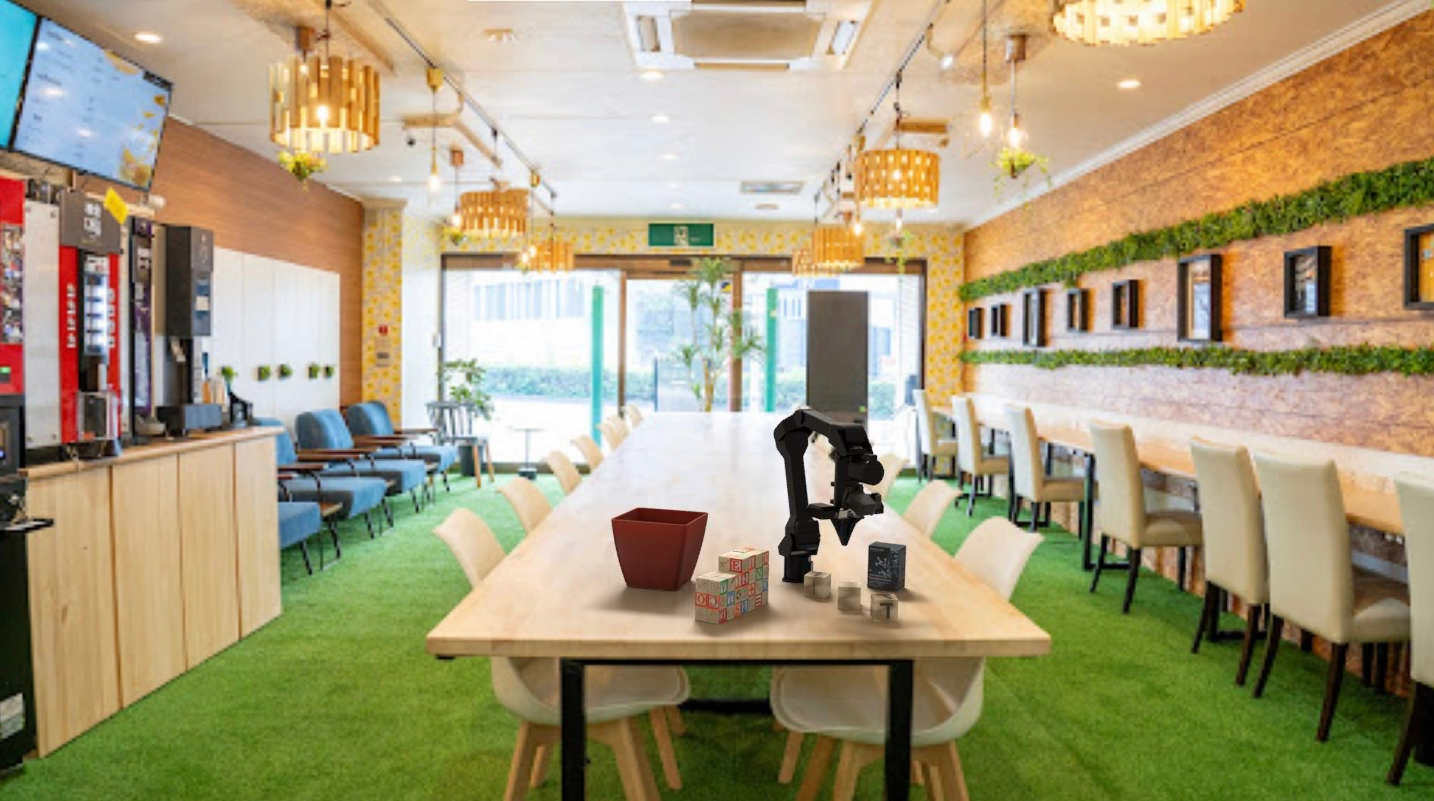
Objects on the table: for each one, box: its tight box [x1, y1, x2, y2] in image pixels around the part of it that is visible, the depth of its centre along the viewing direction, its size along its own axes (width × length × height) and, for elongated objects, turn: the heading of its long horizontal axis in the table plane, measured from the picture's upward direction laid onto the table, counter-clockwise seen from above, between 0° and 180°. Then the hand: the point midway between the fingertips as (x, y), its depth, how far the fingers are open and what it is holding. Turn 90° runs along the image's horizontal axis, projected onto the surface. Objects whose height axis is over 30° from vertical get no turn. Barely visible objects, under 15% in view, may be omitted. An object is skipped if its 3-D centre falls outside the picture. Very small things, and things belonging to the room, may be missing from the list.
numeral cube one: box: [803, 570, 832, 599], centre depth 224 cm, size 5×5×5 cm
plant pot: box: [610, 506, 709, 592], centre depth 232 cm, size 19×19×17 cm
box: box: [866, 540, 907, 593], centre depth 232 cm, size 8×6×11 cm
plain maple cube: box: [836, 580, 862, 611], centre depth 215 cm, size 5×5×5 cm
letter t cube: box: [869, 592, 899, 623], centre depth 205 cm, size 5×5×5 cm
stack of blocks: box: [694, 546, 770, 625], centre depth 209 cm, size 21×6×12 cm, turn 148°
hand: (844, 545), depth 220 cm, fingers closed
